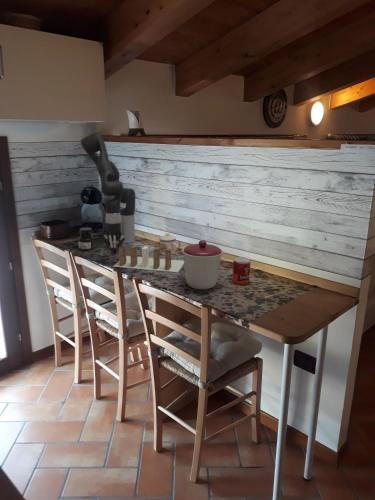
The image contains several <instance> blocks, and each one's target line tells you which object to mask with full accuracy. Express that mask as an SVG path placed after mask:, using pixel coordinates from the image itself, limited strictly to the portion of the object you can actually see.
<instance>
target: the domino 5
mask: <svg viewBox="0 0 375 500" xmlns="http://www.w3.org/2000/svg"><path fill="white" fill-rule="evenodd" d="M164 259H165V270H169V269H170V268H171V260H172V255H171V248H167V249H166V250H165V255H164Z"/></svg>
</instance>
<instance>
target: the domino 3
mask: <svg viewBox="0 0 375 500" xmlns="http://www.w3.org/2000/svg"><path fill="white" fill-rule="evenodd" d="M149 254H150V253H149V246H148V245H145V246H144V247H142V248H141V257H142V268H146V267H147V266H148V265H149V258H150V255H149Z"/></svg>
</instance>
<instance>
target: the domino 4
mask: <svg viewBox="0 0 375 500" xmlns="http://www.w3.org/2000/svg"><path fill="white" fill-rule="evenodd" d="M152 251H153V257H152V258H153V262H154V269H158V267H159V266H160V259H161V258H160V257H161V254H160V246H156V247H155V248H154V249H153V250H152Z"/></svg>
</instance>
